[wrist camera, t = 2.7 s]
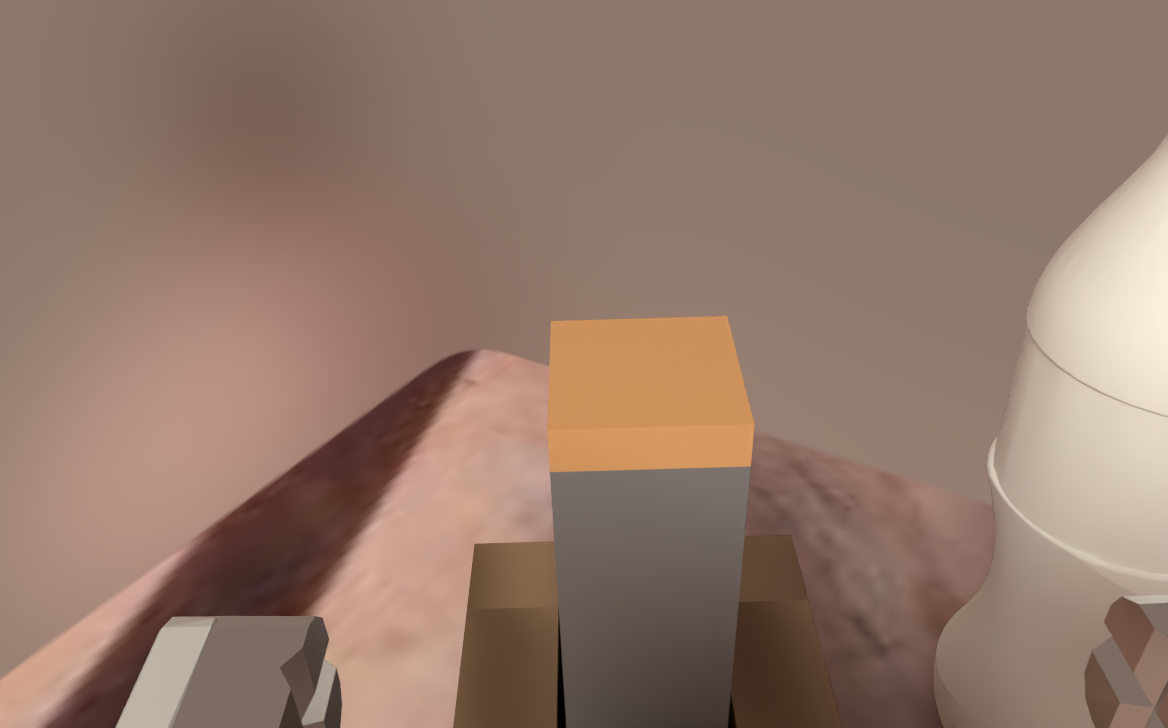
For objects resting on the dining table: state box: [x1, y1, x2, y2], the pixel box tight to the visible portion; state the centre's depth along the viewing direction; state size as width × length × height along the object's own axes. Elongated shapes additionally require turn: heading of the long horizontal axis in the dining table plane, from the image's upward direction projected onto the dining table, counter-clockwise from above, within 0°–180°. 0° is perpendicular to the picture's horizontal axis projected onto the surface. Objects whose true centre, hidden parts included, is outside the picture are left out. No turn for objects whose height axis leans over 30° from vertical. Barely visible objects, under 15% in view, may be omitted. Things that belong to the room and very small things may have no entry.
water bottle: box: [933, 135, 1168, 728], centre depth 26 cm, size 7×7×25 cm
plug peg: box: [548, 316, 754, 728], centre depth 27 cm, size 4×4×16 cm
